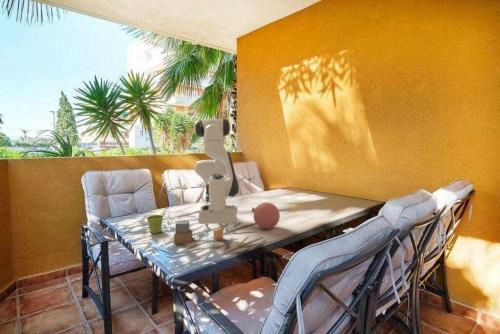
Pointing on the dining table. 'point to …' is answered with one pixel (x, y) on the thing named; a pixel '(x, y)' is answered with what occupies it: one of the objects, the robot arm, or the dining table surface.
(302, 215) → the dining table surface
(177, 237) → the tower base
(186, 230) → the tower top
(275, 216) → the balloon
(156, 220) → the plant pot
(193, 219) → the dining table surface
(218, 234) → the terracotta cylinder
